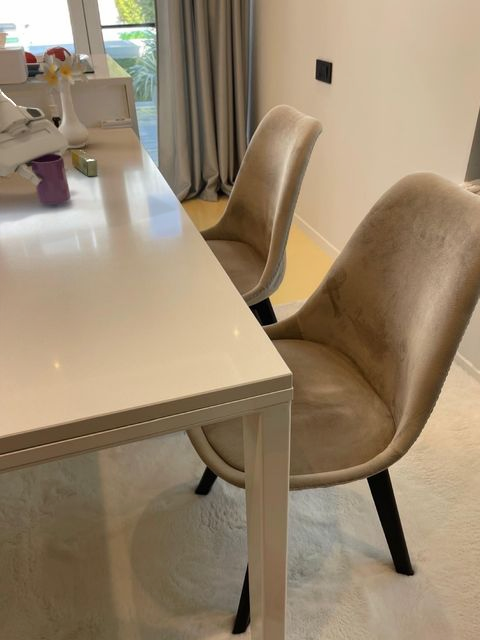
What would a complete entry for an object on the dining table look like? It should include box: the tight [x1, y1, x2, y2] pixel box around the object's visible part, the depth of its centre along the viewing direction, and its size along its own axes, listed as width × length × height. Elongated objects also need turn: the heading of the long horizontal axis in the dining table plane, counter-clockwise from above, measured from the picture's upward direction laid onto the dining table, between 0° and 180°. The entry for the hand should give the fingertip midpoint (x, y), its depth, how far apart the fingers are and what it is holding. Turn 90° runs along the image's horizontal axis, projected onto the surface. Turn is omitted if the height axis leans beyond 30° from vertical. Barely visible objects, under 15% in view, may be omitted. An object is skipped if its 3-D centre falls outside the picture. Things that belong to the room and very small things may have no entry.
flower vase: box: [34, 50, 90, 150], centre depth 161 cm, size 13×18×25 cm
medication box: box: [70, 149, 98, 177], centre depth 146 cm, size 12×3×4 cm, turn 35°
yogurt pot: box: [30, 154, 71, 205], centre depth 123 cm, size 7×7×9 cm
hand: (52, 177), depth 123 cm, fingers closed on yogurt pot, 7 cm apart
